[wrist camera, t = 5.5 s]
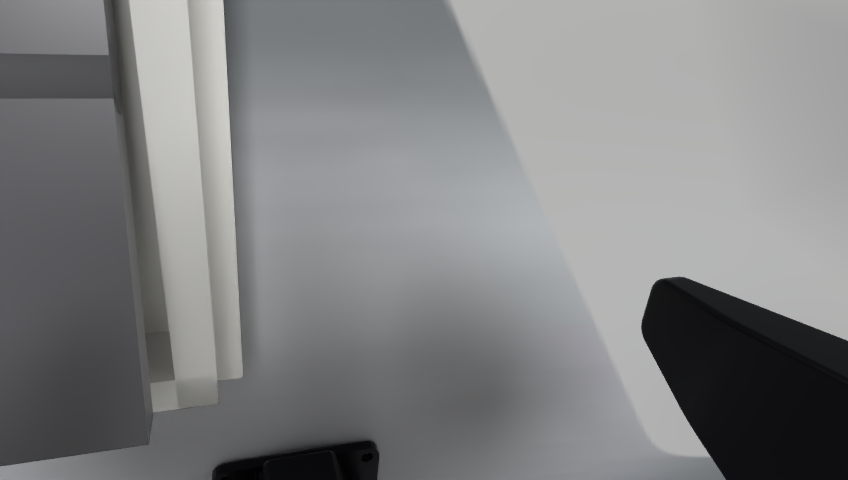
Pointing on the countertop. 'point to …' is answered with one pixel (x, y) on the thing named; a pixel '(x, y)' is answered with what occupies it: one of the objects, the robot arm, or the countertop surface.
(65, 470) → the countertop surface
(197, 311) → the breaker box
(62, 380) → the panel
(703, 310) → the robot arm
